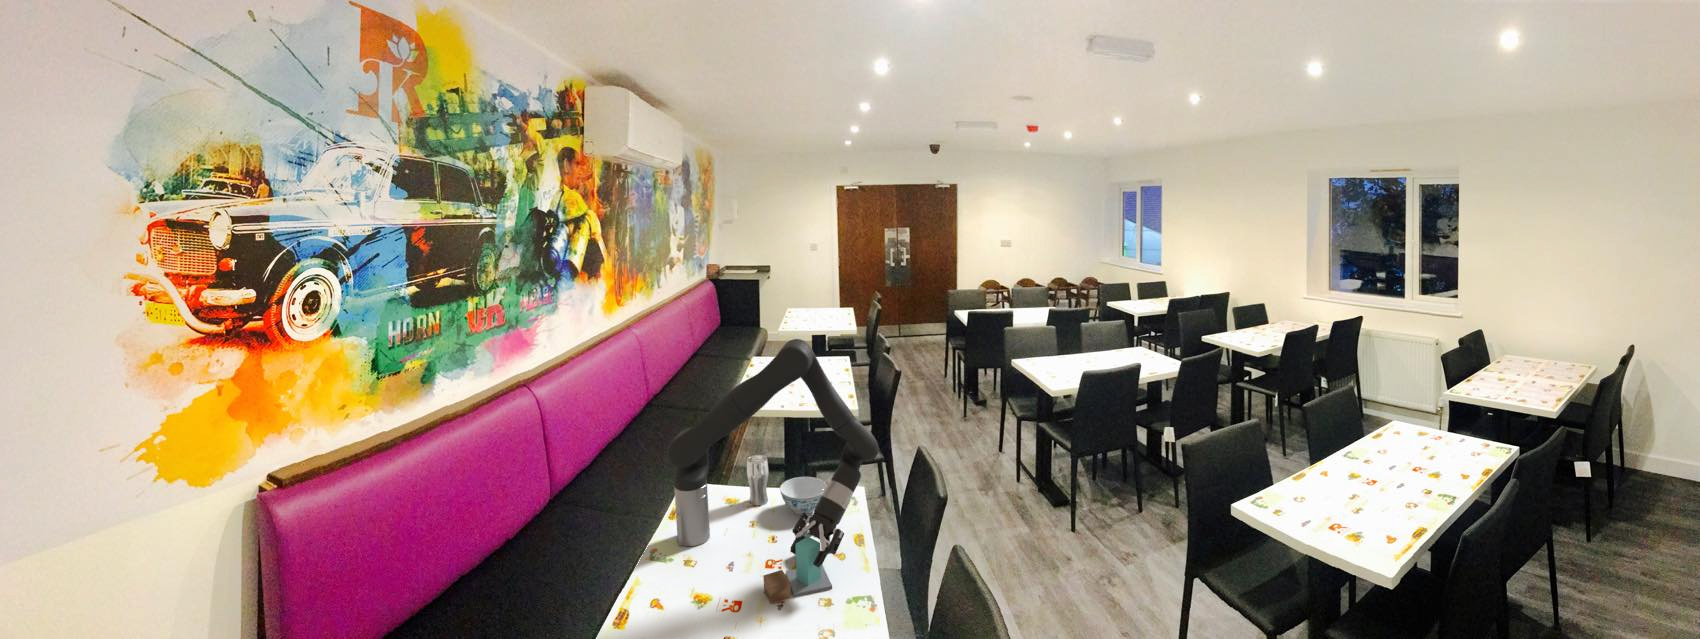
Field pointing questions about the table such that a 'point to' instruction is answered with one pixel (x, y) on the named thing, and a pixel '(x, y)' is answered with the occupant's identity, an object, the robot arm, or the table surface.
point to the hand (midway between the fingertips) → (804, 559)
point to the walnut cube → (776, 586)
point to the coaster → (802, 588)
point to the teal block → (807, 561)
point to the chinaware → (802, 493)
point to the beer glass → (757, 479)
